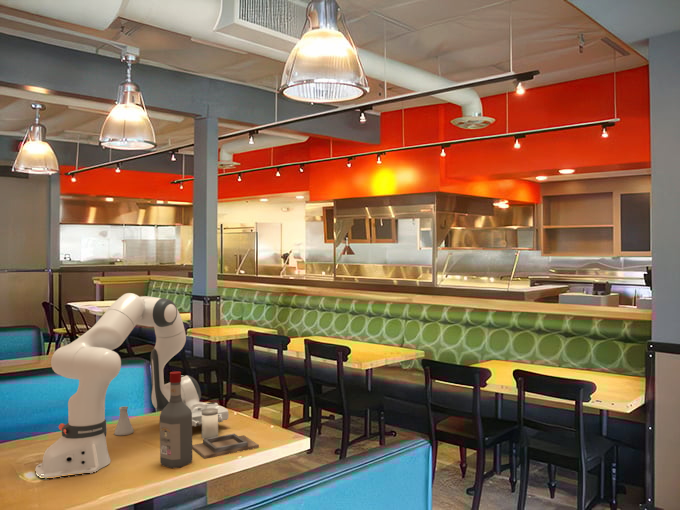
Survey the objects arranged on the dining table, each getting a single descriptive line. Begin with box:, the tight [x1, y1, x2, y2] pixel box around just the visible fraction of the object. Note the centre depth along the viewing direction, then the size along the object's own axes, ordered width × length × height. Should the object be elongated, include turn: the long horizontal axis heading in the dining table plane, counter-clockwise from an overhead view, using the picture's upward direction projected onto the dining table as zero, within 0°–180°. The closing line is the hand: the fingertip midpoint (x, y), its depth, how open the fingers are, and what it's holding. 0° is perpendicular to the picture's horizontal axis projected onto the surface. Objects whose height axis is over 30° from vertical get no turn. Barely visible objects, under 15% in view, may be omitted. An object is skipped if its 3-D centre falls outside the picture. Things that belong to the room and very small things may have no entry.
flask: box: [113, 406, 135, 436], centre depth 232 cm, size 7×7×10 cm
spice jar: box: [201, 408, 219, 440], centre depth 226 cm, size 6×6×10 cm
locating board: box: [192, 433, 259, 460], centre depth 214 cm, size 20×13×2 cm, turn 123°
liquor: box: [159, 370, 193, 469], centre depth 199 cm, size 9×9×30 cm
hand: (209, 422), depth 227 cm, fingers open, 8 cm apart
